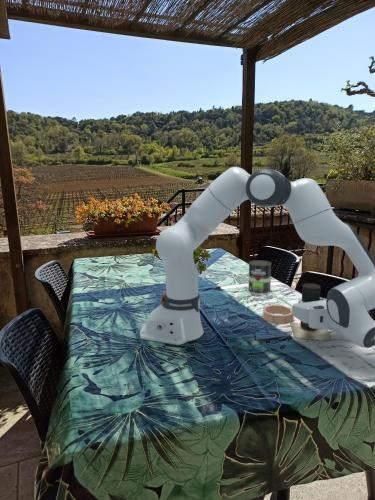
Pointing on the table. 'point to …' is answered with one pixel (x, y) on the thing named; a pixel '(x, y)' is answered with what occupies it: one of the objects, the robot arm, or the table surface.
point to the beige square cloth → (309, 333)
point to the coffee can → (259, 277)
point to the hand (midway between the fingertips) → (308, 300)
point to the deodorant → (310, 298)
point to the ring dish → (278, 318)
